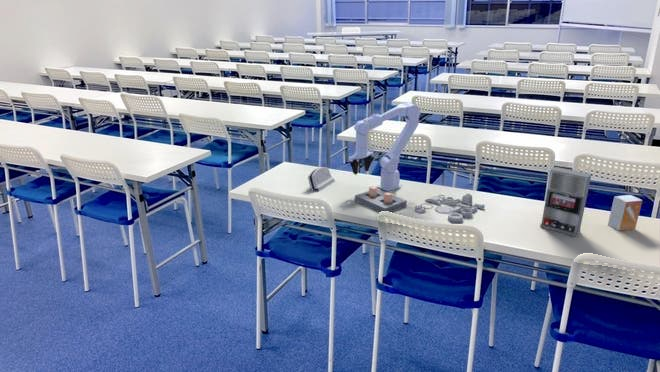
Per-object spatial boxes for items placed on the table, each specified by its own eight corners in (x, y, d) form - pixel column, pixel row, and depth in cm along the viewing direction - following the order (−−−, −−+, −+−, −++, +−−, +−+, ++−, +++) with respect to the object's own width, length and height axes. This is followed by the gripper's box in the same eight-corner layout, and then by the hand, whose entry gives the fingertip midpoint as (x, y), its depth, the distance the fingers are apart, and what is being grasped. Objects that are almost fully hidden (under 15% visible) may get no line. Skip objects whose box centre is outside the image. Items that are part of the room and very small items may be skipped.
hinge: (319, 191, 233) (313, 172, 231) (311, 192, 236) (305, 174, 234) (335, 181, 247) (329, 163, 245) (327, 182, 250) (322, 165, 248)
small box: (619, 231, 190) (626, 202, 186) (607, 224, 196) (613, 196, 191) (635, 229, 192) (643, 200, 187) (623, 222, 198) (630, 194, 193)
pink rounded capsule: (373, 197, 226) (373, 185, 223) (378, 200, 223) (379, 188, 220) (366, 199, 223) (367, 187, 221) (372, 202, 220) (372, 190, 218)
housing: (354, 200, 222) (354, 195, 222) (376, 193, 231) (376, 188, 230) (384, 213, 208) (385, 208, 207) (406, 205, 216) (406, 200, 215)
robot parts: (408, 211, 212) (409, 200, 211) (437, 195, 230) (438, 185, 228) (458, 226, 197) (459, 215, 195) (485, 208, 214) (486, 198, 212)
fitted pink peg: (387, 203, 218) (388, 191, 216) (394, 206, 215) (394, 194, 213) (381, 206, 216) (382, 193, 214) (387, 208, 213) (388, 196, 211)
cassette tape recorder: (539, 227, 194) (549, 170, 185) (544, 222, 198) (554, 166, 190) (575, 237, 186) (587, 178, 177) (580, 232, 190) (592, 174, 181)
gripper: (366, 141, 234) (366, 167, 238) (344, 146, 225) (344, 173, 230) (376, 144, 228) (375, 170, 233) (354, 150, 220) (354, 177, 225)
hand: (361, 172), depth 231 cm, fingers open, 7 cm apart
